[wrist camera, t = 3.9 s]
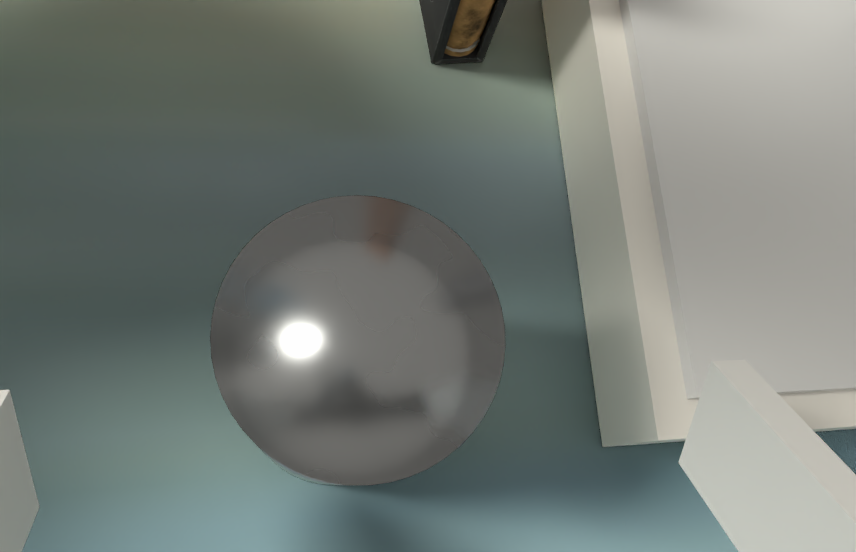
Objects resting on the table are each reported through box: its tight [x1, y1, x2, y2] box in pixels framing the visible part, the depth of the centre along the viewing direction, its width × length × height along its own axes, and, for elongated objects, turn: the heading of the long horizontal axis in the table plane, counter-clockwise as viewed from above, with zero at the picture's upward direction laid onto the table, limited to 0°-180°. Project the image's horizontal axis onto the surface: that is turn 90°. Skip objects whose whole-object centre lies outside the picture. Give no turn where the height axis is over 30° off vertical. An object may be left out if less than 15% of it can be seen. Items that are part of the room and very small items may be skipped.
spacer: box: [210, 195, 505, 485], centre depth 16 cm, size 5×5×9 cm
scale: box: [541, 0, 856, 447], centre depth 23 cm, size 17×16×4 cm
